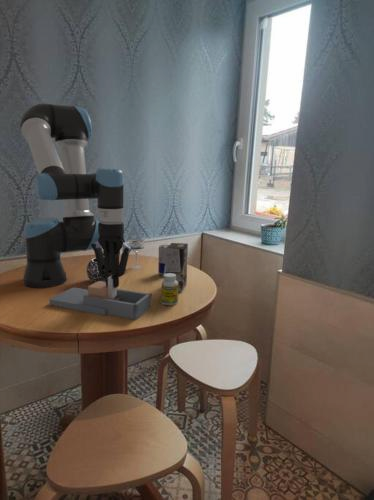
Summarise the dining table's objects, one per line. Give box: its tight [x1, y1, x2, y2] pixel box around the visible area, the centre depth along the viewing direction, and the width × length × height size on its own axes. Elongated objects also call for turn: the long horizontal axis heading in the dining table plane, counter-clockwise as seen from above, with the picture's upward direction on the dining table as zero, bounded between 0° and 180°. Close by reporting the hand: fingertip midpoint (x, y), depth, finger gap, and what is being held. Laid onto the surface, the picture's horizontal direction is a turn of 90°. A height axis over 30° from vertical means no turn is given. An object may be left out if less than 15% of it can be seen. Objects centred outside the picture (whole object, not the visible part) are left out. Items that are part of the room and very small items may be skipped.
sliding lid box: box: [48, 286, 152, 321], centre depth 112 cm, size 30×12×4 cm, turn 71°
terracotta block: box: [87, 280, 115, 300], centre depth 112 cm, size 6×6×5 cm
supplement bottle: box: [161, 273, 179, 306], centre depth 116 cm, size 5×5×10 cm
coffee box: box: [166, 242, 189, 293], centre depth 129 cm, size 9×6×16 cm
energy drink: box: [157, 244, 170, 277], centre depth 144 cm, size 5×5×12 cm
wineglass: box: [128, 238, 145, 270], centre depth 153 cm, size 7×7×12 cm
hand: (112, 296), depth 111 cm, fingers closed
